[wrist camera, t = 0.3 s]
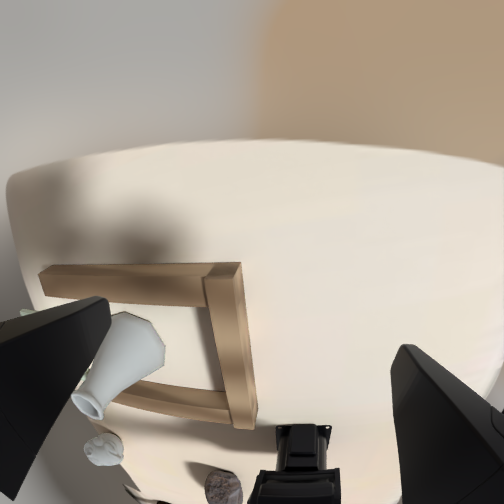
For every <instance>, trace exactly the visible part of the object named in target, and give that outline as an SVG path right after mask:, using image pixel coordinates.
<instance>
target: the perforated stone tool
mask: <svg viewBox="0 0 504 504" xmlns="http://www.w3.org/2000/svg"><path fill="white" fill-rule="evenodd" d="M205 495H206V499H207V501H208V503H209V504H242V502H243V492H242V488H241V483H240V481H239V479H238V478H237V476H236V475H234V474H232V473H228V472H223V471H219V470H218V471H214V472H211V473H210V474H209V475H208V477H207V479H206V483H205Z"/></svg>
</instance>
